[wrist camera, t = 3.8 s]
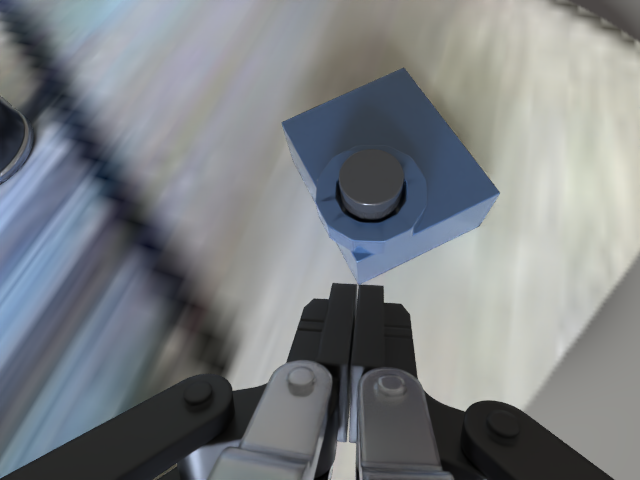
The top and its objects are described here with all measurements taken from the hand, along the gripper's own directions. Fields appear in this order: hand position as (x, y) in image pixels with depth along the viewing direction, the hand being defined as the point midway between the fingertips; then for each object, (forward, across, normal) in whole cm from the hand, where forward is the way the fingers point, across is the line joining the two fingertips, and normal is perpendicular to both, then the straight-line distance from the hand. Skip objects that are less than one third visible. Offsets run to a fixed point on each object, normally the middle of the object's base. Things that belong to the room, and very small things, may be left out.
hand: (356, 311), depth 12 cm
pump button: (+13, 0, 0) cm, 13 cm away
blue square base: (+20, -1, +2) cm, 21 cm away
